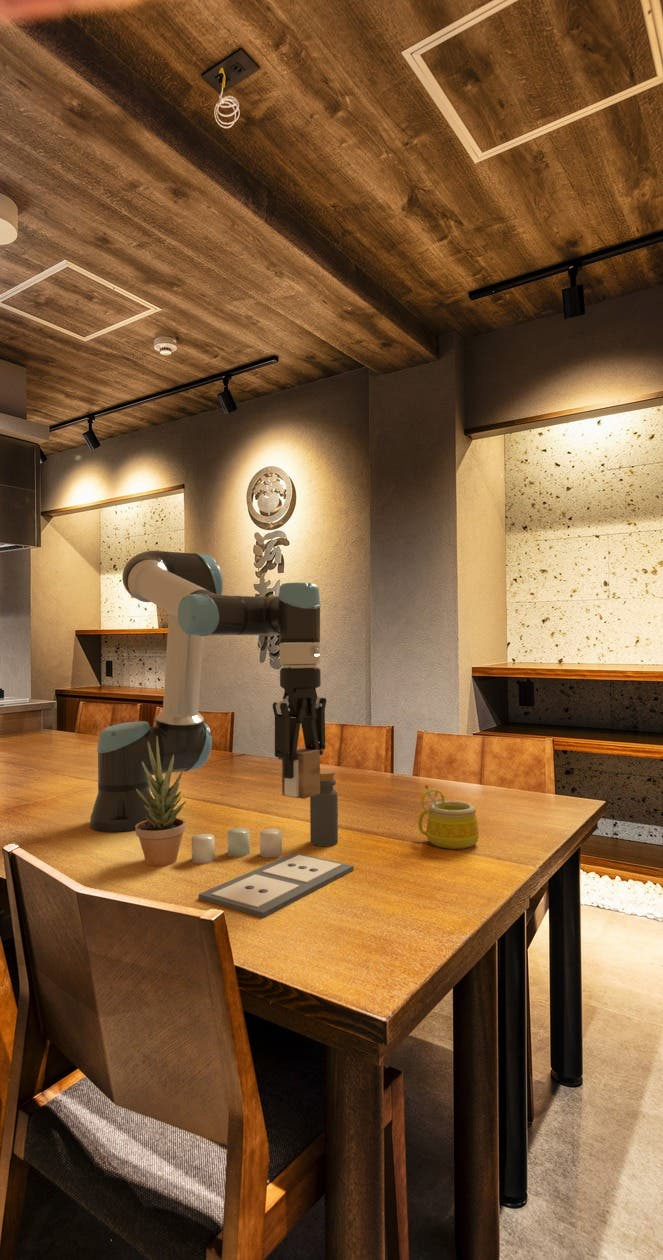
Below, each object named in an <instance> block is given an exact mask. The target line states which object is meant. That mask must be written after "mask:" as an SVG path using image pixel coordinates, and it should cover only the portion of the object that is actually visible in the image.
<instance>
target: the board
mask: <svg viewBox="0 0 663 1260" xmlns="http://www.w3.org/2000/svg"><path fill="white" fill-rule="evenodd" d="M353 871H354V865H353V864H346V863H343V862H338V861H334V860H330V859H329V860H328V859H324V858H319V857H315V856H309V855H305V854H300V853H296V852H293V853H290V854H288V855H286V856H284V857H282V858H279V859H277V860H274V861H273V862H270V863H268V864H264V865H263V866H260V867H259V868H256V869H253V870H251V871H249V872H246V873H244V874H242V875H239V876H238V877H235V878H233V879H231V880H228V881H225V882H224V883H221V884H219V885H216V886H214V887H211V888H210V889H207V890H205V891H203V892H200V893H199V894H198V900H201V901H204V902H208V903H212V904H215V905H219V906H222V907H224V908H229V909H232V910H235V911H239V912H242V913H246V914H249V915H252V916H255V917H260V918H266V917H268V916H269V915H272V914H273V913H275V912H277V911H279V910H281V909H282V908H285V907H286V906H288V905H290V904H293V903H294V902H296V901H297V900H300V899H302V898H303V897H306V896H308V895H309V894H311V893H313V892H314V891H317V890H319V889H320V888H322V887H324V886H326V885H328V884H330V883H332V882H334V881H336V880H337V879H340V878H341V877H343V876H345V875H347V874H349V873H351V872H353Z"/></svg>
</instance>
